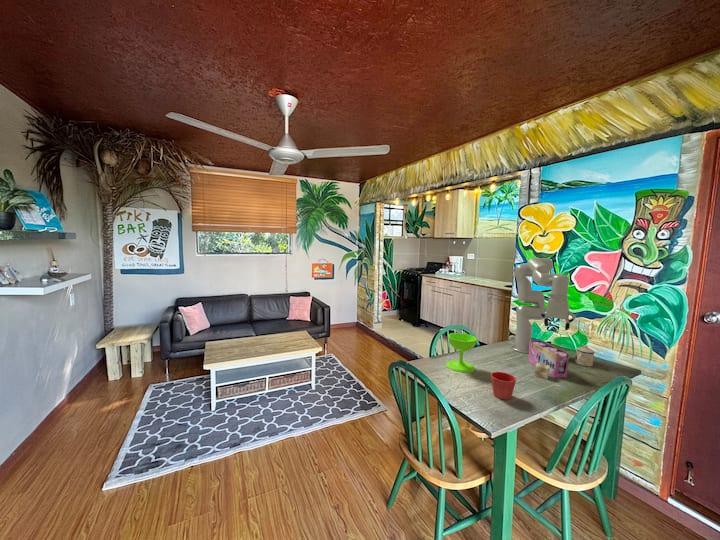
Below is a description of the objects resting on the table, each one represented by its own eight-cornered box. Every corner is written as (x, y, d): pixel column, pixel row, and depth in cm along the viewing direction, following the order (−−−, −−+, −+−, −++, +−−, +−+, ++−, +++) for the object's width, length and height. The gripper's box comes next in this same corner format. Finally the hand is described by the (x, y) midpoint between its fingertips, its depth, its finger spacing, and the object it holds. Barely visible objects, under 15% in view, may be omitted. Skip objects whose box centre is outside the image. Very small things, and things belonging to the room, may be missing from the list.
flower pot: (485, 390, 146) (486, 371, 145) (506, 390, 147) (507, 371, 146) (496, 401, 136) (498, 381, 135) (519, 401, 137) (521, 381, 136)
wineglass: (473, 363, 180) (475, 334, 178) (476, 374, 164) (478, 343, 163) (446, 360, 184) (447, 331, 182) (446, 370, 168) (448, 339, 167)
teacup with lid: (579, 359, 191) (580, 342, 190) (595, 365, 184) (597, 346, 182) (569, 363, 185) (571, 345, 184) (586, 368, 177) (588, 349, 176)
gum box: (569, 378, 163) (571, 354, 162) (556, 378, 162) (558, 354, 161) (539, 361, 187) (540, 340, 186) (527, 361, 186) (529, 340, 185)
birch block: (534, 376, 165) (535, 365, 164) (536, 372, 169) (537, 362, 169) (546, 379, 161) (547, 369, 160) (548, 376, 166) (549, 365, 165)
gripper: (539, 295, 167) (536, 325, 168) (576, 300, 154) (573, 332, 155) (543, 294, 172) (540, 323, 173) (579, 299, 159) (576, 330, 161)
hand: (556, 327), depth 164 cm, fingers open, 9 cm apart
